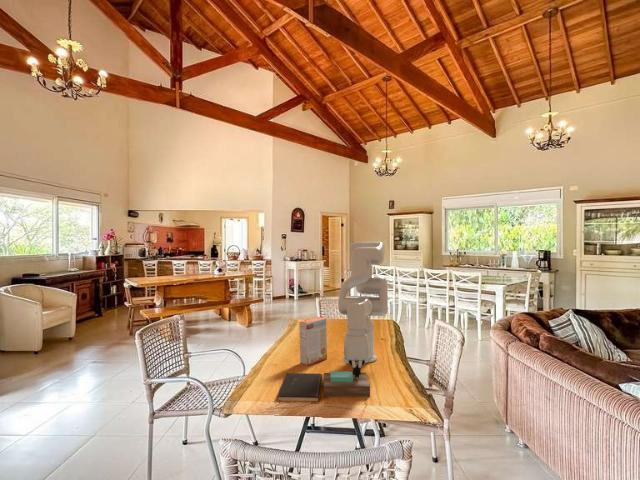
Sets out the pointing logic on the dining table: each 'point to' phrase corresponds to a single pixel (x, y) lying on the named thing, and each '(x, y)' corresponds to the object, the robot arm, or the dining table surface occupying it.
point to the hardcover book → (300, 387)
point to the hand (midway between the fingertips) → (356, 376)
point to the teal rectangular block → (341, 376)
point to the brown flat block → (347, 387)
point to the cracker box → (313, 340)
